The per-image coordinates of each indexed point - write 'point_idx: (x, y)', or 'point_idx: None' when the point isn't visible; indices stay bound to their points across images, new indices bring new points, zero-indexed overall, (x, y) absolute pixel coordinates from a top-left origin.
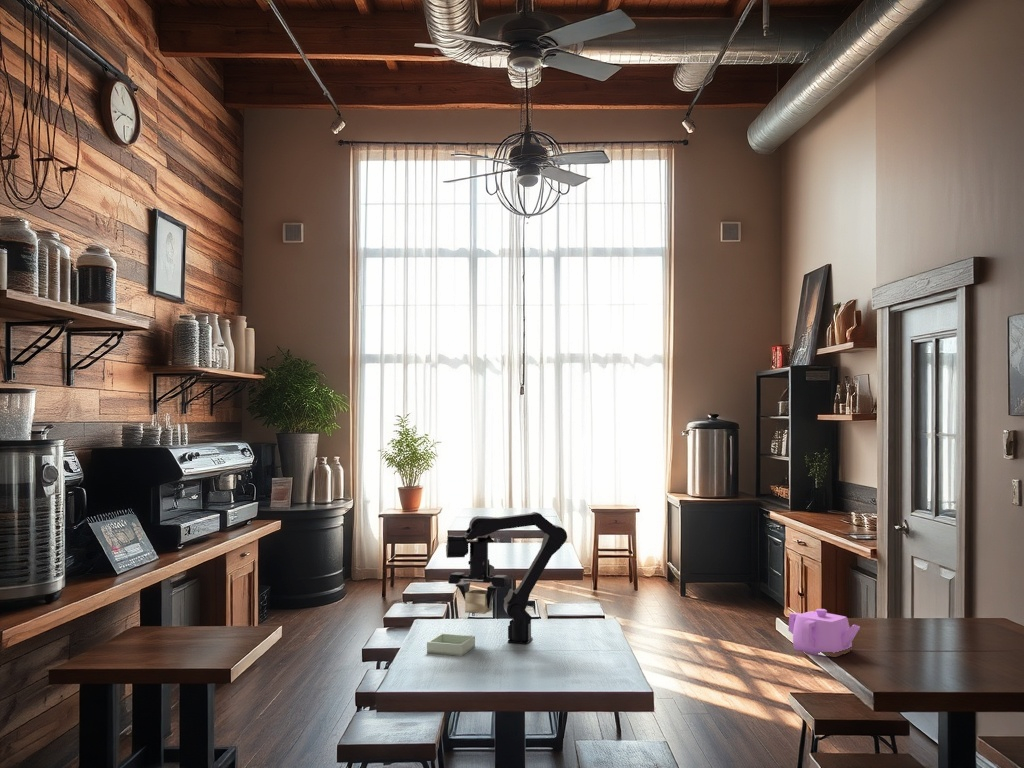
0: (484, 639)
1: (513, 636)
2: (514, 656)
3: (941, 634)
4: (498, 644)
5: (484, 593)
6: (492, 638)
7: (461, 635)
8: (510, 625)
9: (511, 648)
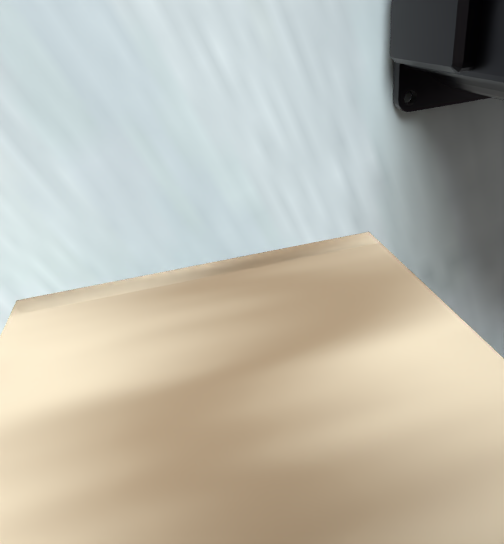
0: (168, 94)
1: (462, 86)
2: (496, 347)
3: None
4: (341, 182)
5: (358, 530)
6: (216, 23)
7: None
8: (491, 82)
9: (451, 228)
